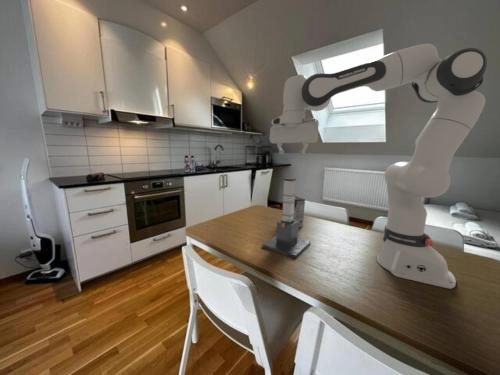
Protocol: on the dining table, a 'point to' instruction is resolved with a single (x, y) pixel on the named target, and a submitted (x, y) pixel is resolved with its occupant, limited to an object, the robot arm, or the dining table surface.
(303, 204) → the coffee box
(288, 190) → the column
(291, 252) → the stand base
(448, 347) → the dining table surface
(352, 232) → the dining table surface
